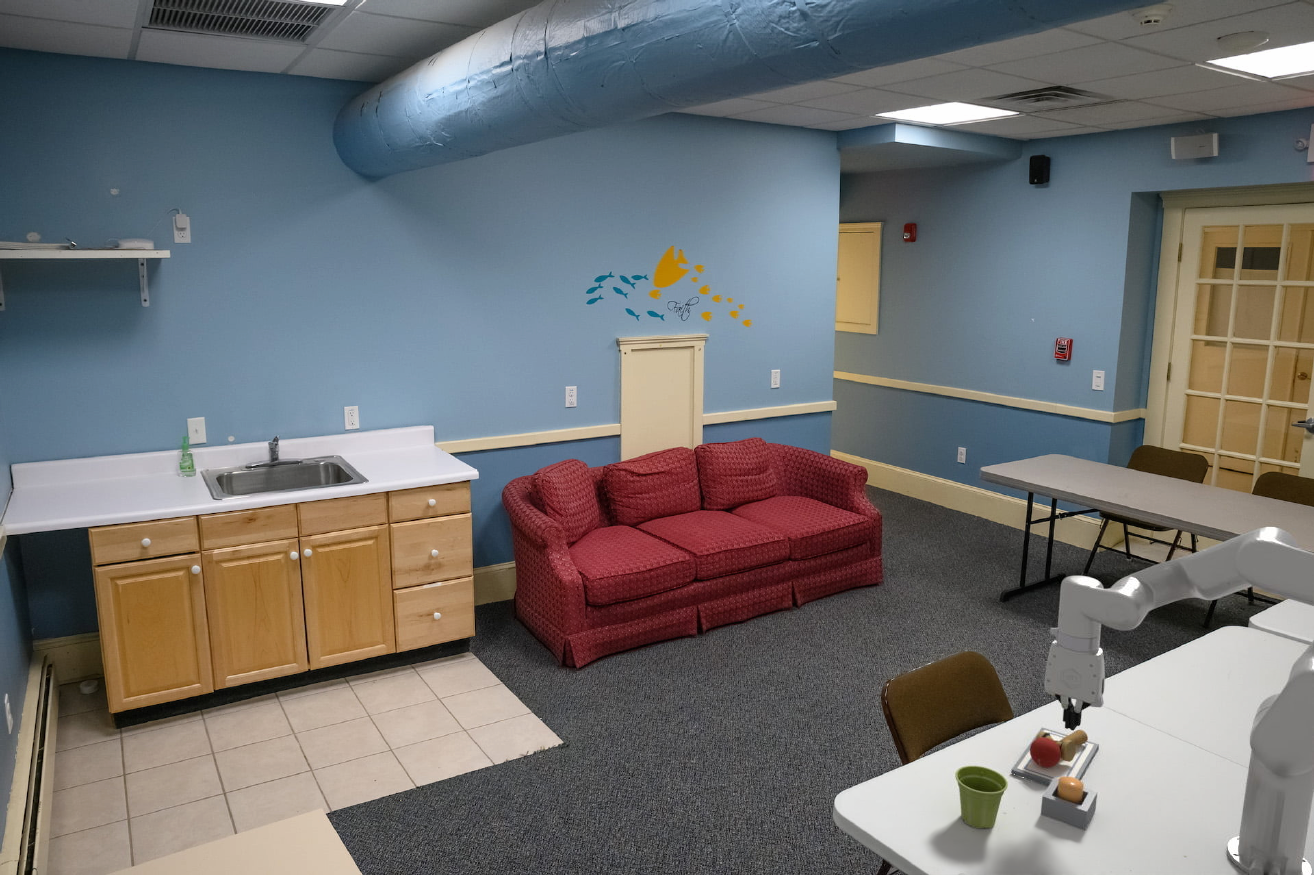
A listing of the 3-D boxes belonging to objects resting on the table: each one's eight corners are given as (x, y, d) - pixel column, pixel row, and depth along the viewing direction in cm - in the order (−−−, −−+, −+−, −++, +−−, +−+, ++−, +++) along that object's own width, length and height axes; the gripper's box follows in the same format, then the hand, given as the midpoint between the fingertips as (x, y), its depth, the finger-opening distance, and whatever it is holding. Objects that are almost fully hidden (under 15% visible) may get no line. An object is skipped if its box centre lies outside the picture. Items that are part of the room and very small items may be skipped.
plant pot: (963, 799, 179) (966, 759, 178) (1011, 817, 173) (1014, 776, 172) (944, 821, 172) (947, 780, 171) (994, 841, 166) (997, 799, 165)
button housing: (1085, 830, 169) (1087, 811, 169) (1040, 814, 174) (1042, 796, 174) (1095, 810, 176) (1097, 792, 175) (1052, 795, 180) (1054, 777, 180)
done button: (1078, 806, 171) (1080, 792, 171) (1054, 798, 174) (1055, 784, 173) (1084, 795, 175) (1086, 781, 174) (1060, 787, 177) (1062, 774, 177)
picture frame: (1072, 794, 181) (1072, 789, 181) (1011, 773, 188) (1011, 768, 188) (1098, 748, 198) (1099, 743, 198) (1041, 731, 205) (1042, 726, 205)
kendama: (1059, 739, 202) (1016, 756, 191) (1068, 715, 200) (1025, 730, 189) (1091, 760, 196) (1049, 778, 185) (1101, 735, 194) (1059, 752, 183)
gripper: (1032, 636, 177) (1026, 722, 180) (1114, 656, 167) (1106, 747, 171) (1044, 624, 183) (1038, 708, 186) (1125, 643, 173) (1117, 731, 176)
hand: (1071, 726), depth 178 cm, fingers closed
